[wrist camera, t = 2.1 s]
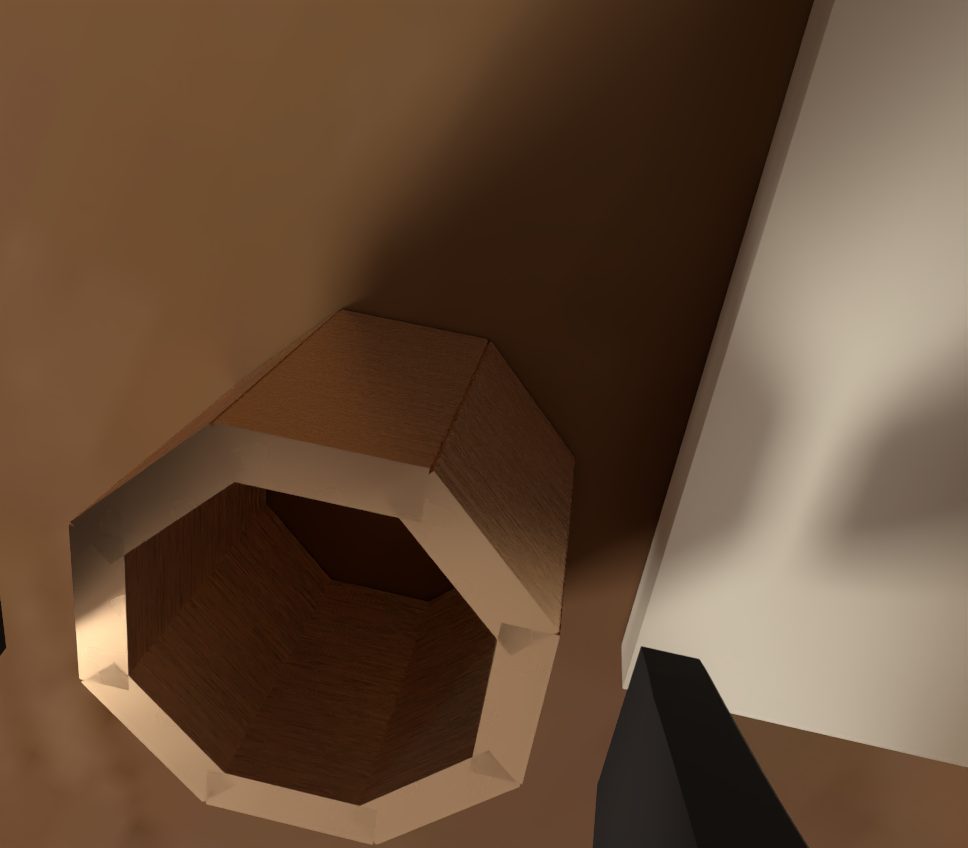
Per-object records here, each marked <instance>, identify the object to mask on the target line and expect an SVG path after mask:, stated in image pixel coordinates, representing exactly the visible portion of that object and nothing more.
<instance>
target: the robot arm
mask: <svg viewBox="0 0 968 848" xmlns="http://www.w3.org/2000/svg"><path fill="white" fill-rule="evenodd" d="M5 648H6V643H5V634H4V626H3V618H2V609H1V601H0V655H1V654H2V652H3V651H4V650H5ZM593 848H809V847H808V846H807V844H806V843H805V841H804V839H803V838H802V836H801V834H800V833H799V831H798V830H797V828H796V826H795V825H794V823H793V821H792V820H791V818H790V816H789V815H788V813H787V812H786V810H785V808H784V807H783V805H782V803H781V802H780V800H779V798H778V797H777V795H776V793H775V791H774V790H773V788H772V786H771V785H770V783H769V781H768V780H767V778H766V776H765V774H764V773H763V771H762V769H761V767H760V766H759V764H758V762H757V760H756V759H755V757H754V755H753V753H752V751H751V750H750V748H749V746H748V744H747V743H746V741H745V739H744V737H743V736H742V734H741V732H740V730H739V728H738V727H737V725H736V723H735V721H734V719H733V717H732V716H731V714H730V712H729V710H728V708H727V707H726V705H725V703H724V701H723V699H722V697H721V696H720V694H719V692H718V690H717V688H716V686H715V685H714V683H713V681H712V679H711V677H710V675H709V674H708V672H707V670H706V669H705V667H704V665H703V664H702V662H701V661H700V659H697V658H693V657H688V656H684V655H679V654H675V653H670V652H666V651H661V650H656V649H652V648H647V647H643V646H641V648H640V651H639V654H638V657H637V660H636V664H635V667H634V670H633V673H632V676H631V680H630V683H629V686H628V689H627V692H626V696H625V699H624V702H623V705H622V708H621V712H620V715H619V718H618V721H617V724H616V728H615V731H614V734H613V737H612V740H611V744H610V747H609V750H608V753H607V756H606V760H605V763H604V766H603V769H602V772H601V776H600V779H599V782H598V785H597V798H596V812H595V825H594V839H593Z"/></svg>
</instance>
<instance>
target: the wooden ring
mask: <svg viewBox="0 0 968 848" xmlns="http://www.w3.org/2000/svg"><path fill="white" fill-rule="evenodd" d="M574 458H575V457H574V456H573V454H572V453H571V451H570V450H569V449H568V447H567V446H566V444H565V443H564V442H563V440H562V439H561V437H560V436H559V435H558V433H557V432H556V430H555V429H554V428H553V426H552V425H551V423H550V422H549V421H548V419H547V418H546V416H545V415H544V414H543V412H542V411H541V409H540V408H539V407H538V405H537V404H536V402H535V401H534V400H533V398H532V397H531V395H530V394H529V393H528V391H527V390H526V389H525V387H524V386H523V384H522V383H521V382H520V380H519V379H518V377H517V376H516V375H515V373H514V372H513V370H512V369H511V368H510V366H509V365H508V363H507V362H506V361H505V359H504V358H503V356H502V355H501V354H500V352H499V351H498V349H497V348H496V347H495V345H494V344H493V342H492V341H491V342H489V343H488V339H486V338H481V337H476V336H471V335H466V334H461V333H456V332H451V331H446V330H441V329H436V328H432V327H427V326H422V325H417V324H412V323H407V322H402V321H397V320H392V319H387V318H382V317H377V316H372V315H367V314H362V313H357V312H353V311H348V310H343V309H342V310H341V311H339V310H338V311H337V312H336V313H334V314H333V315H331V316H330V317H329V318H327V319H326V320H325V321H323V322H322V323H320V324H319V325H318V326H316V327H315V328H314V329H312V330H311V331H309V332H308V333H307V334H305V335H304V336H302V337H301V338H300V339H298V340H297V341H296V342H294V343H293V344H291V345H290V346H289V347H287V348H286V349H284V350H283V351H282V352H280V353H279V354H278V355H276V356H275V357H273V358H272V359H271V360H269V361H268V362H266V363H265V364H264V365H262V366H261V367H260V368H258V369H257V370H255V371H254V372H253V373H251V374H250V375H248V376H247V377H246V378H244V379H243V380H242V381H240V382H239V383H237V384H236V385H235V386H233V387H232V388H231V389H230V390H229V391H227V392H226V393H225V394H224V395H223V396H221V397H220V398H219V399H218V400H217V401H215V402H214V403H213V404H212V405H211V406H209V407H208V408H207V409H206V410H205V411H203V412H202V413H201V414H200V415H199V416H197V417H196V418H195V419H194V420H192V421H191V422H190V423H189V424H188V425H186V426H185V427H184V428H183V429H182V430H180V431H179V432H178V433H177V434H176V435H174V436H173V437H172V438H171V439H170V440H168V441H167V442H166V443H165V444H164V445H162V446H161V447H160V448H159V449H158V450H156V451H155V452H154V453H153V454H152V455H150V456H149V457H148V458H147V459H146V460H144V461H143V462H142V463H141V464H139V465H138V466H137V467H136V468H135V469H133V470H132V471H131V472H130V473H129V474H127V475H126V476H125V477H124V478H123V479H121V480H120V481H119V482H118V483H117V484H115V485H114V486H113V487H112V488H111V489H109V490H108V491H107V492H106V493H105V494H103V495H102V496H101V497H100V498H99V499H97V500H96V501H95V502H94V503H93V504H91V505H90V506H89V507H88V508H86V509H85V510H84V511H83V512H82V513H80V514H79V515H78V516H77V517H76V518H74V519H73V520H72V521H71V524H70V525H69V535H70V549H71V564H72V579H73V593H74V608H75V622H76V637H77V651H78V666H79V679H83V681H82V683H83V684H84V685H85V686H86V687H87V688H88V689H89V690H90V691H91V692H92V693H93V694H94V695H95V696H96V697H97V698H98V699H99V700H100V701H101V702H102V703H103V704H104V705H105V706H106V707H107V708H108V709H109V710H110V711H111V712H112V713H113V714H114V715H115V716H116V717H117V718H118V719H119V720H120V721H121V722H122V723H123V724H124V725H125V726H126V727H127V728H128V729H129V730H130V731H131V732H132V733H133V734H134V735H135V736H136V737H137V738H138V739H139V740H140V741H141V742H142V743H143V744H144V745H145V746H146V747H147V748H148V749H149V750H150V751H151V752H152V753H153V754H154V755H155V756H156V757H158V758H159V759H160V760H161V761H162V762H163V763H164V764H165V765H166V766H167V767H168V768H169V769H170V770H171V771H172V772H173V773H174V774H175V775H176V776H177V777H178V778H179V779H180V780H181V781H182V782H183V783H184V784H185V785H186V786H187V787H188V788H189V789H190V790H191V791H192V792H193V793H194V794H195V795H196V796H197V797H198V798H199V799H200V800H201V801H202V802H203V801H205V800H206V804H208V805H212V806H217V807H221V808H225V809H229V810H233V811H237V812H241V813H245V814H249V815H253V816H257V817H261V818H265V819H269V820H273V821H277V822H282V823H286V824H290V825H294V826H298V827H302V828H306V829H310V830H314V831H318V832H322V833H326V834H330V835H334V836H338V837H342V838H347V839H351V840H355V841H359V842H363V843H367V844H371V845H373V842H374V843H375V844H376V845H377V844H380V843H382V842H384V841H387V840H389V839H392V838H394V837H397V836H399V835H402V834H404V833H407V832H409V831H412V830H414V829H417V828H419V827H421V826H424V825H426V824H429V823H431V822H434V821H436V820H439V819H441V818H444V817H446V816H449V815H451V814H453V813H456V812H458V811H461V810H463V809H466V808H468V807H471V806H473V805H476V804H478V803H481V802H483V801H485V800H488V799H490V798H493V797H495V796H498V795H500V794H503V793H505V792H508V791H510V790H513V789H515V788H518V787H520V784H522V783H523V779H524V775H525V771H526V767H527V763H528V759H529V755H530V751H531V747H532V743H533V740H534V736H535V732H536V728H537V724H538V720H539V716H540V712H541V708H542V704H543V700H544V697H545V693H546V689H547V685H548V681H549V677H550V673H551V669H552V665H553V661H554V657H555V653H556V650H557V646H558V642H559V638H560V630H561V619H562V607H563V596H564V584H565V573H566V561H567V550H568V538H569V527H570V515H571V504H572V492H573V481H574V469H575V460H574ZM267 489H269V490H273V491H278V492H283V493H287V494H292V495H296V496H301V497H305V498H310V499H315V500H319V501H324V502H328V503H333V504H337V505H342V506H347V507H351V508H356V509H360V510H365V511H369V512H374V513H379V514H383V515H388V516H392V517H397V518H399V519H400V520H401V521H402V522H403V524H404V525H405V526H406V527H407V529H408V530H409V531H410V532H411V534H412V535H413V536H414V537H415V538H416V540H417V541H418V542H419V543H420V545H421V546H422V547H423V548H424V550H425V551H426V552H427V553H428V555H429V556H430V557H431V558H432V559H433V561H434V562H435V563H436V564H437V566H438V567H439V568H440V569H441V571H442V572H443V573H444V574H445V576H446V577H447V578H448V579H449V581H450V582H451V583H452V584H453V585H454V587H455V588H454V589H452V590H450V591H448V592H446V593H444V594H442V595H441V596H439V597H437V598H435V599H433V600H431V601H425V600H421V599H416V598H412V597H407V596H403V595H398V594H394V593H390V592H385V591H381V590H376V589H372V588H367V587H363V586H358V585H354V584H350V583H345V582H341V581H336V580H332V579H330V577H329V576H328V575H327V574H326V573H325V572H324V570H323V569H322V568H321V567H320V566H319V565H318V563H317V562H316V561H315V560H314V559H313V558H312V556H311V555H310V554H309V553H308V552H307V551H306V549H305V548H304V547H303V546H302V545H301V544H300V542H299V541H298V540H297V539H296V538H295V537H294V535H293V534H292V533H291V532H290V531H289V530H288V528H287V527H286V526H285V525H284V524H283V523H282V521H281V520H280V519H279V518H278V517H277V516H276V514H275V513H274V512H273V511H272V510H271V509H270V507H269V506H268V505H267V504H266V495H267Z"/></svg>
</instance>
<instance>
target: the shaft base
mask: <svg viewBox="0 0 968 848" xmlns="http://www.w3.org/2000/svg"><path fill="white" fill-rule="evenodd" d="M641 646H643V647H647V648H652V649H656V650H661V651H666V652H670V653H675V654H679V655H684V656H688V657H693V658H697V659H700V661H701V662H702V664H703V665H704V667H705V669H706V670H707V672H708V674H709V675H710V677H711V679H712V681H713V683H714V685H715V686H716V688H717V690H718V692H719V694H720V696H721V697H722V699H723V701H724V703H725V705H726V707H727V708H728V710H729V712H730V713H732V714H737V715H741V716H746V717H750V718H754V719H759V720H763V721H767V722H772V723H776V724H781V725H785V726H789V727H794V728H798V729H803V730H807V731H811V732H816V733H820V734H824V735H829V736H833V737H838V738H842V739H846V740H851V741H855V742H859V743H864V744H868V745H873V746H877V747H881V748H886V749H890V750H894V751H899V752H903V753H908V754H912V755H916V756H921V757H925V758H929V759H934V760H938V761H943V762H947V763H951V764H956V765H960V766H964V767H968V0H814V2H813V6H812V9H811V12H810V16H809V19H808V22H807V26H806V29H805V32H804V36H803V39H802V43H801V46H800V49H799V53H798V56H797V59H796V63H795V66H794V69H793V73H792V76H791V79H790V83H789V86H788V89H787V93H786V96H785V99H784V103H783V106H782V109H781V113H780V116H779V120H778V123H777V126H776V130H775V133H774V136H773V140H772V143H771V146H770V150H769V153H768V156H767V160H766V163H765V166H764V170H763V173H762V176H761V180H760V183H759V186H758V190H757V193H756V196H755V200H754V203H753V207H752V210H751V213H750V217H749V220H748V223H747V227H746V230H745V233H744V237H743V240H742V243H741V247H740V250H739V253H738V257H737V260H736V263H735V267H734V270H733V273H732V277H731V280H730V284H729V287H728V290H727V294H726V297H725V300H724V304H723V307H722V310H721V314H720V317H719V320H718V324H717V327H716V330H715V334H714V337H713V340H712V344H711V347H710V350H709V354H708V357H707V361H706V364H705V367H704V371H703V374H702V377H701V381H700V384H699V387H698V391H697V394H696V397H695V401H694V404H693V407H692V411H691V414H690V417H689V421H688V424H687V427H686V431H685V434H684V438H683V441H682V444H681V448H680V451H679V454H678V458H677V461H676V464H675V468H674V471H673V474H672V478H671V481H670V484H669V488H668V491H667V494H666V498H665V501H664V504H663V508H662V511H661V514H660V518H659V521H658V525H657V528H656V531H655V535H654V538H653V541H652V545H651V548H650V551H649V555H648V558H647V561H646V565H645V568H644V571H643V575H642V578H641V581H640V585H639V588H638V591H637V595H636V598H635V602H634V605H633V608H632V612H631V615H630V618H629V622H628V625H627V628H626V632H625V635H624V638H623V642H622V686H623V689H628V686H629V683H630V680H631V676H632V673H633V670H634V667H635V664H636V660H637V657H638V654H639V651H640V648H641Z"/></svg>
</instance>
